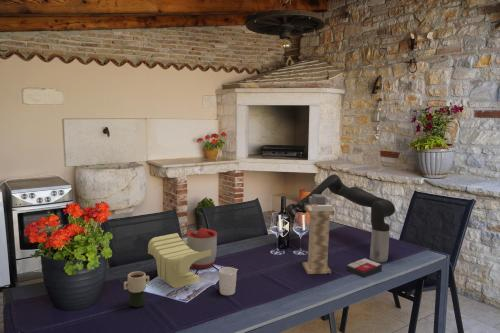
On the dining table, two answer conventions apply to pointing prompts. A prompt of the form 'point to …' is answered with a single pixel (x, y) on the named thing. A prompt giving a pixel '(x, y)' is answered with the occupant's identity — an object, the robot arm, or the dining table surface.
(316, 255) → the pedestal column stand
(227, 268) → the white cup
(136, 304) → the character mug
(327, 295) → the dining table surface
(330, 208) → the power strip
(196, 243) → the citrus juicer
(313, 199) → the charger
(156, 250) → the slatted curved stool
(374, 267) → the black red flat box
